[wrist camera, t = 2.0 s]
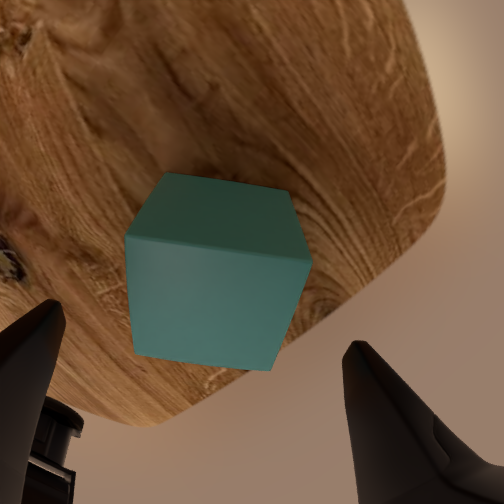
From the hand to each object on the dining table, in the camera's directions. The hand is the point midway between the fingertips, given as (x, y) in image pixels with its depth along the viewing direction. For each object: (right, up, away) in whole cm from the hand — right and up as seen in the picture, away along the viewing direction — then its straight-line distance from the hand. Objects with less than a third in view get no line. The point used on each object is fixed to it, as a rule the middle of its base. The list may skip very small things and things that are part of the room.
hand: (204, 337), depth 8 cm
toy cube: (0, +3, +5) cm, 6 cm away
